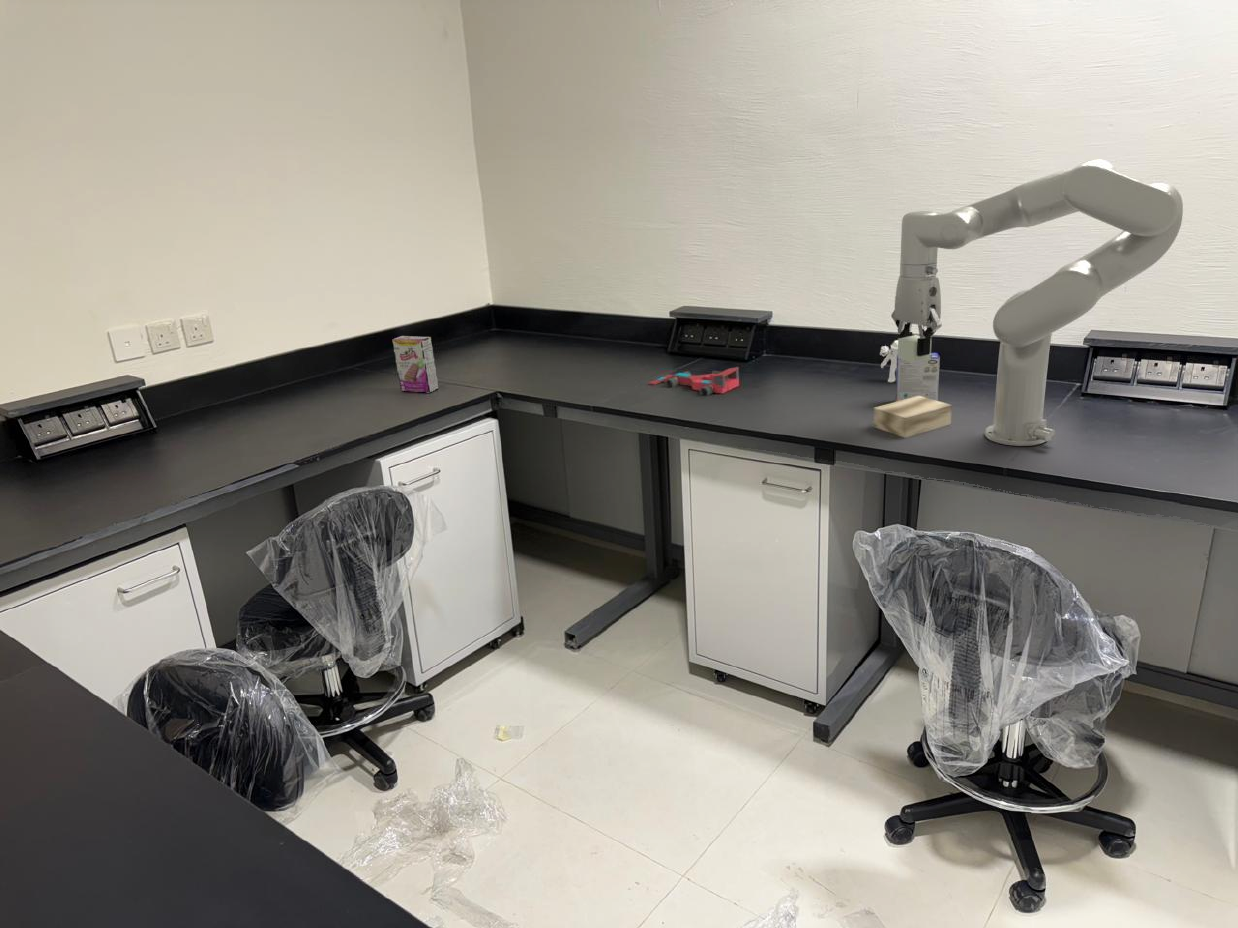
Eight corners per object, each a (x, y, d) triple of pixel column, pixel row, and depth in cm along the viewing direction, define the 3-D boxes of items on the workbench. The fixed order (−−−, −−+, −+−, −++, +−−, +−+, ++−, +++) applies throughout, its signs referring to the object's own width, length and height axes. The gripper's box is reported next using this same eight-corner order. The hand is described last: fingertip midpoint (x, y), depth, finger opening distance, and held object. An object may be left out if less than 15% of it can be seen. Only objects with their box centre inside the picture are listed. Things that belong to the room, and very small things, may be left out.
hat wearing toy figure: (914, 381, 235) (916, 337, 230) (909, 384, 232) (911, 340, 228) (881, 377, 240) (883, 334, 236) (876, 381, 237) (877, 338, 233)
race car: (672, 356, 259) (744, 364, 243) (673, 375, 261) (745, 385, 246) (642, 368, 249) (716, 377, 233) (644, 388, 251) (717, 399, 235)
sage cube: (930, 358, 196) (931, 338, 194) (912, 362, 194) (913, 342, 192) (914, 354, 200) (915, 335, 198) (897, 358, 198) (898, 338, 197)
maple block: (950, 425, 201) (951, 405, 200) (904, 439, 196) (905, 418, 194) (918, 415, 210) (918, 395, 208) (873, 428, 204) (873, 407, 202)
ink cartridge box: (935, 399, 219) (938, 343, 213) (938, 406, 214) (941, 348, 208) (894, 400, 221) (896, 344, 216) (896, 407, 216) (898, 349, 211)
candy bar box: (400, 392, 266) (390, 339, 260) (410, 387, 270) (401, 335, 264) (430, 394, 261) (421, 340, 256) (440, 389, 266) (431, 336, 260)
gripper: (960, 273, 184) (955, 357, 190) (904, 264, 199) (901, 343, 205) (932, 277, 181) (928, 363, 188) (878, 269, 196) (875, 348, 202)
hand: (914, 351), depth 196 cm, fingers closed on sage cube, 5 cm apart
